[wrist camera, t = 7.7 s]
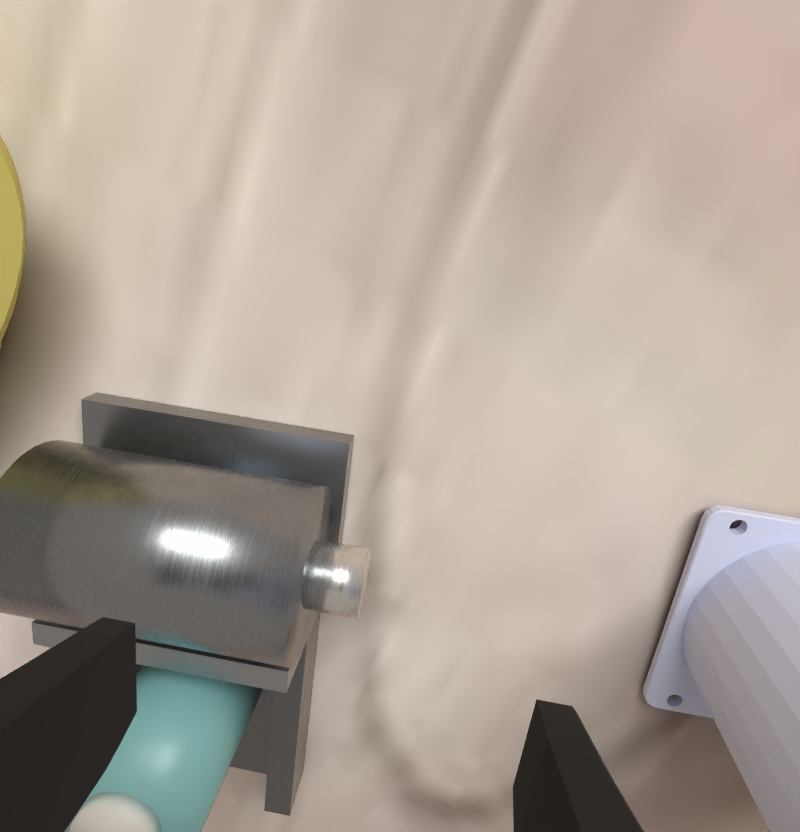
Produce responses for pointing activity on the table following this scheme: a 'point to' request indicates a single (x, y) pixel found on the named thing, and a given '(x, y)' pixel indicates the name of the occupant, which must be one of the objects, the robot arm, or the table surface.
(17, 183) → the plastic component
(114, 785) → the teal rounded cylinder
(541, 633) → the table surface
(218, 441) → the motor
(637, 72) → the table surface
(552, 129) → the table surface
